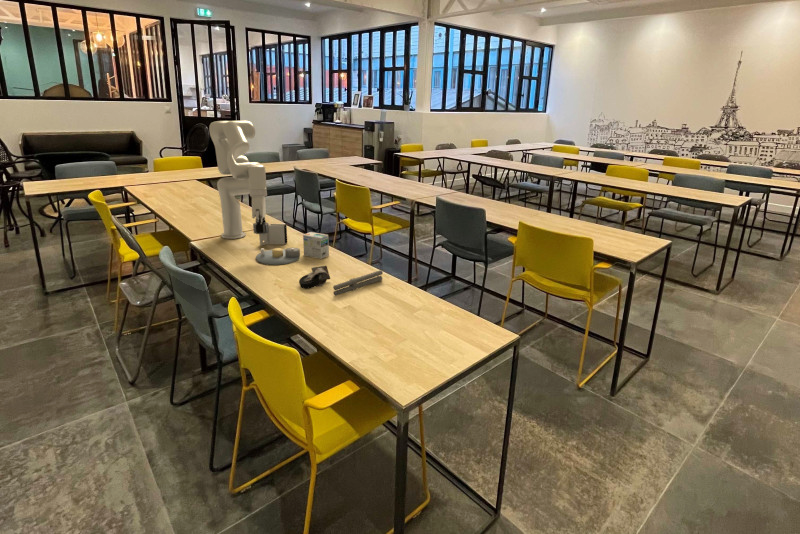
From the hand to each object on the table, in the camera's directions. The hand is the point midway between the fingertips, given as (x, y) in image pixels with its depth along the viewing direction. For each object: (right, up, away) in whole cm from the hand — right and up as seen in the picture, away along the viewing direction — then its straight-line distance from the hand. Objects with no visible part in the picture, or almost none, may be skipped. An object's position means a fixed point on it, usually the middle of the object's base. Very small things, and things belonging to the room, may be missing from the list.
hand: (261, 230), depth 214 cm
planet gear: (0, -1, 0) cm, 1 cm away
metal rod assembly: (+48, -26, -24) cm, 59 cm away
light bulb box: (+24, -12, +11) cm, 29 cm away
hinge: (-1, -5, +26) cm, 26 cm away
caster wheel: (+29, -25, -24) cm, 45 cm away
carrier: (+6, -13, +6) cm, 15 cm away
